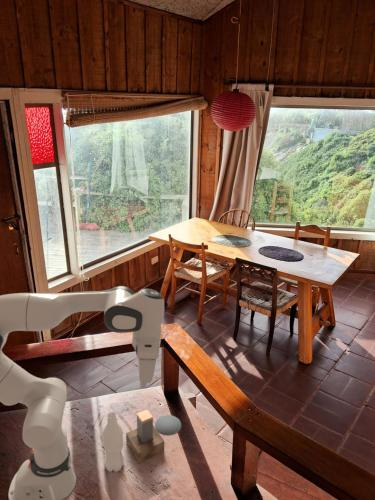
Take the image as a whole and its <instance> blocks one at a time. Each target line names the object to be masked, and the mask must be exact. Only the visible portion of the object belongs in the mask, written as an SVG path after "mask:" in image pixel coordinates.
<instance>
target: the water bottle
mask: <svg viewBox="0 0 375 500" xmlns="http://www.w3.org/2000/svg"><path fill="white" fill-rule="evenodd" d="M123 434H124V430H123V428H122V425H121V424H120V423H119V422H118V417H117V413H116V412H115V411H110V412H109V413H108V414H107V419H106V425H105V426H104V427H103V430H102V437H103V438H102V441H103V445H102V446H103V448H104V450H105V458H104V463H103V464H104V467H105V469H106V470H107V471H108V472H110V473H112V472H113V471H114V473H116V472H119V471H120V470H121V469H122V467H123V466H124V463H125V458H124V455H123V452H122V450H123V448H124V435H123Z"/></svg>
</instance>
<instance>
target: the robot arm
mask: <svg viewBox="0 0 375 500" xmlns="http://www.w3.org/2000/svg"><path fill="white" fill-rule="evenodd" d="M80 312H83V313H84V312H104V313H103V323H104V326H105V327H106V328H107V330H109V331H110V332H113V333H117V334H122V333H123V334H125V333H132V338H131V345H132V347H133V348H134V351H135V354H136V355H135V356H136V357H137V365H138V366H137V367H138V379H139V383H140V384H139V387H140V389H146V388H147V384H149V383H151V382H152V381H153V379H154V375H155V369H156V363H157V360H158V359H159V357H160V347H161V341H162V333H163V332H162V324H163V322H164V315H165V298H164V297H163V295H162V293H160V292H158V291H157V290H155V289H152V288H142V289H140V290H139V291H138V292H135V291H134V290H132V289H131V288H130V287H127V286H123V285H119V286H115V287H112V288H109V289H106V290H99V291H98V290H97V291H96V290H94V291H93V290H92V291H90V290H89V291H73V292H72V291H71V292H57V293H56V292H55V293H53V292H51V293H50V292H49V293H48V292H46V293H45V292H44V293H43V292H42V293H41V292H40V293H39V292H38V293H37V292H18V293H16V292H15V293H8V294H2V295H0V403H2V404H3V405H4V406H9V407H10V406H14V405H16V404H17V405H18V403H20V404H22V405H25V407H27V408H28V409H27V413H26V416H25V419H24V422H23V426H22V441H23V442H24V444H25V445H26V446H27V447H29V448H30V449H31V451H30V453H31V454H30V456H29V458H28V459H26V460H25V461H24V462H23V463H22V464H21V465H20V466H19V469H18V471H17V472H16V473H15V474H14V476H13V479H12V480H11V482H10V485H9V489H8V496H7V497H8V500H64V499H65V498H67V497H68V496H69V495H70V494H72V492H73V490H74V489H75V487H76V482H77V476H76V473H75V471H74V470H73V467H72V465H71V464H72V455H71V451H70V448H69V445H68V435H67V431H66V430H65V429H64V428H63V419H64V414H65V413H64V412H65V408H66V404H67V403H66V402H67V399H68V398H67V397H68V395H67V394H68V392H67V391H68V390H67V385H66V383H65V382H64V380H62V379H60V378H57V377H47V378H41V377H37V376H35V375H33V374H31V373H29V372H28V371H26V369H24V368H22V366H20V365H19V364H17V363H16V362H14V361H13V360H12V359H10V358H9V357H8V356H7V355H5V353H4V352H3V348H4V346H5V345H6V342H7V340H8V336H9V334H10V333H12V332H17V331H19V332H21V331H22V332H44V331H49V330H53V329H54V328H56V327H57V326H59V325H60V324H61V323H62V322H63V321H64V320H65V319H67V318H68V317H70V316H71V315H73V314H76V313H80Z"/></svg>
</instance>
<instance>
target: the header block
mask: <svg viewBox="0 0 375 500" xmlns="http://www.w3.org/2000/svg"><path fill="white" fill-rule="evenodd" d="M125 436H126V437H125V441H126V445H127V447H128V448H129V450H130V451H131V453H132V455H133V456H134V458H135V460H136V461H137V463H138V464H140V463H142V462H145V461H147V460H148V459H151V458H152V457H154V456H156V455H159V454H161V453H163V452H165V440H164V438H163V437H162V436H161V434H160V433H159V432H158V431H157V430H156V428H155V425H153V440H151V441H149V442H146V443H144V444H141V442H140V441H139V439H138V437H137V428H134V429H132V430H131V431H128V432H126V433H125Z"/></svg>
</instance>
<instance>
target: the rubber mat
mask: <svg viewBox="0 0 375 500" xmlns="http://www.w3.org/2000/svg"><path fill="white" fill-rule="evenodd" d="M181 422H182V421H181V420H180V419H179V418H178V417H176V416H174V415H171V414H166V415H161V416H160V417H159V418H157V419H156V421H155V424H154V427H155V429H156V430H157V432H158V433H159V434H160V435H163V436H173V435H176V434H178V432H180V430H181V428H182V423H181Z"/></svg>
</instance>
